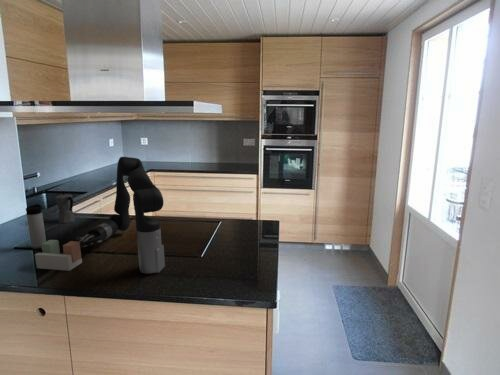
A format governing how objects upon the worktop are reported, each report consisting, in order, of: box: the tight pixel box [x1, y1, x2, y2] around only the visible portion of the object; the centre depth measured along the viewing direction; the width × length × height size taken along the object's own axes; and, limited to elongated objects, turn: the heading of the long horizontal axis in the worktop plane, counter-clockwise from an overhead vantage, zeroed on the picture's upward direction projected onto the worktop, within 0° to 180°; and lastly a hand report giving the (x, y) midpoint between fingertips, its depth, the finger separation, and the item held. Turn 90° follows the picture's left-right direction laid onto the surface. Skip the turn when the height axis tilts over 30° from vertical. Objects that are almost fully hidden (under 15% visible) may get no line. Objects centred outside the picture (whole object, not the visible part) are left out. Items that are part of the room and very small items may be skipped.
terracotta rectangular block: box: [62, 240, 82, 262], centre depth 143 cm, size 4×5×7 cm
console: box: [34, 252, 83, 272], centre depth 142 cm, size 15×8×6 cm, turn 80°
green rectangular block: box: [41, 239, 61, 254], centre depth 144 cm, size 4×5×7 cm
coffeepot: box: [54, 191, 76, 224], centre depth 199 cm, size 15×9×18 cm, turn 55°
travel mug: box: [25, 203, 47, 250], centre depth 161 cm, size 6×7×20 cm
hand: (76, 247), depth 145 cm, fingers closed
